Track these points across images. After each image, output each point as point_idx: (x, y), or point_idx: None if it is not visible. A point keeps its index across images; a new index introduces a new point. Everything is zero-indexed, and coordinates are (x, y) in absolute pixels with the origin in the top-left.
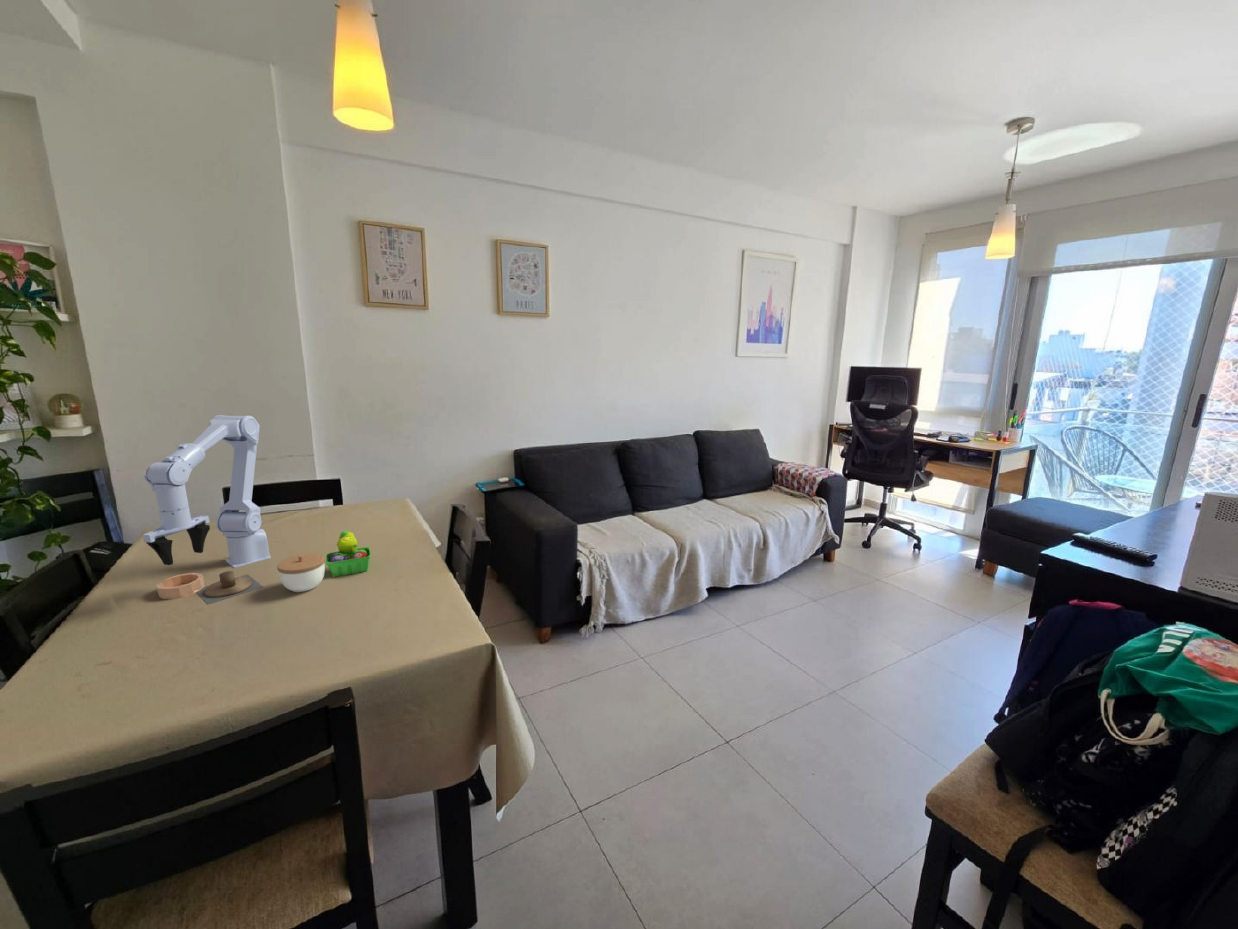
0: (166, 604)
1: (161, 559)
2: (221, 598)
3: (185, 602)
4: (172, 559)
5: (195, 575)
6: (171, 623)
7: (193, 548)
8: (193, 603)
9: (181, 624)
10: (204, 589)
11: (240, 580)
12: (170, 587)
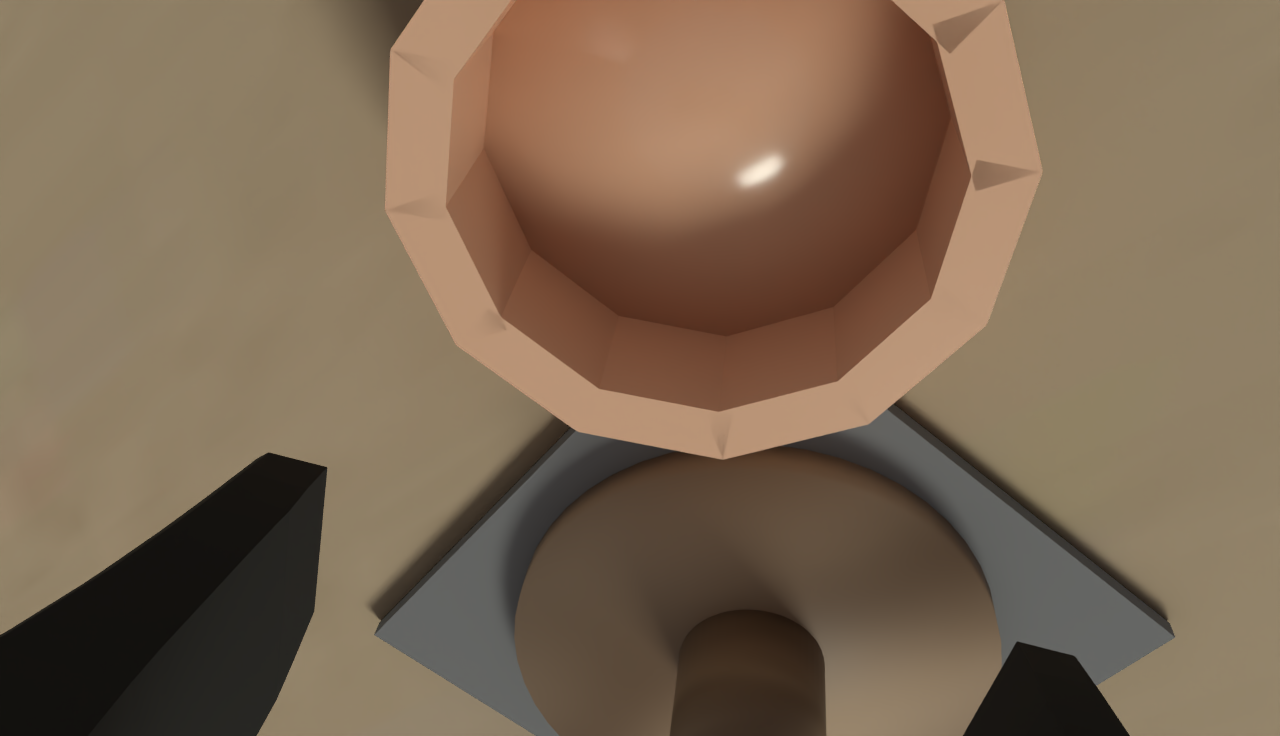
0: (343, 178)
1: (175, 531)
2: (506, 684)
3: (422, 365)
4: (253, 725)
5: (935, 274)
6: (19, 518)
7: (1044, 722)
8: (411, 462)
9: (35, 603)
10: None
11: (896, 709)
12: (441, 225)
